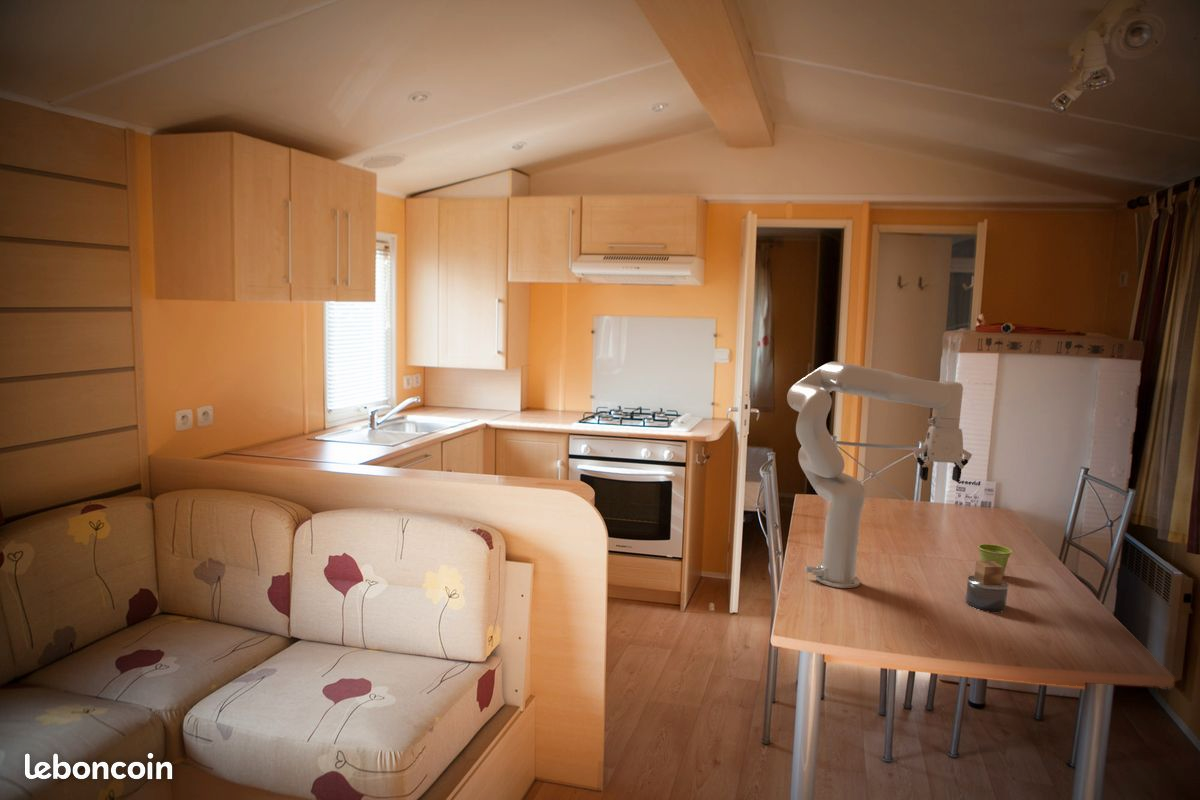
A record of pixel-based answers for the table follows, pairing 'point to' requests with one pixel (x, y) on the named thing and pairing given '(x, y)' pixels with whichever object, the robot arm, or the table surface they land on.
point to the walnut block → (988, 572)
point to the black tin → (986, 595)
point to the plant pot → (995, 554)
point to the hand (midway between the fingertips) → (939, 480)
